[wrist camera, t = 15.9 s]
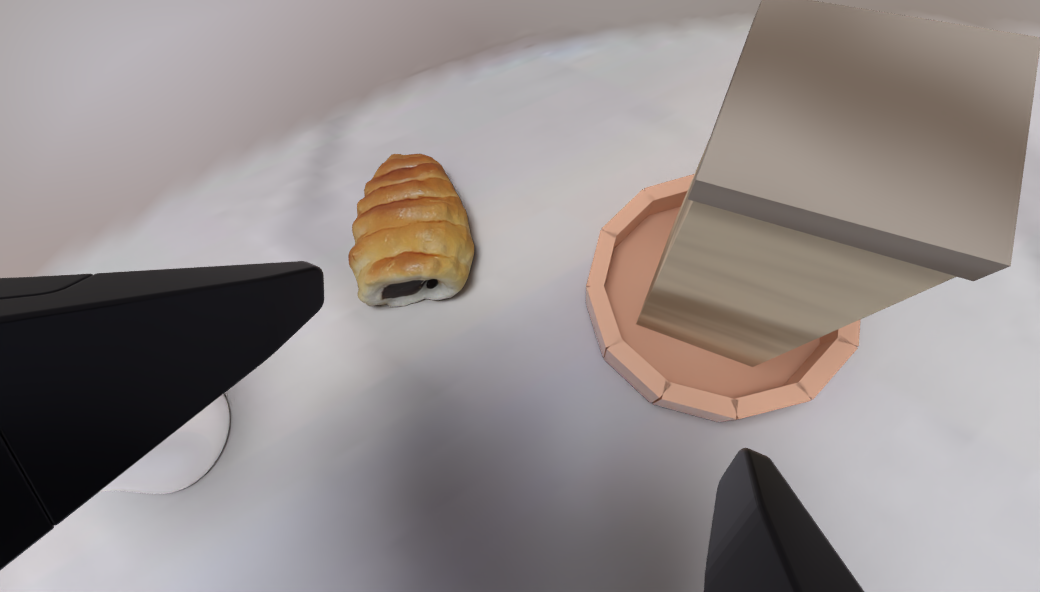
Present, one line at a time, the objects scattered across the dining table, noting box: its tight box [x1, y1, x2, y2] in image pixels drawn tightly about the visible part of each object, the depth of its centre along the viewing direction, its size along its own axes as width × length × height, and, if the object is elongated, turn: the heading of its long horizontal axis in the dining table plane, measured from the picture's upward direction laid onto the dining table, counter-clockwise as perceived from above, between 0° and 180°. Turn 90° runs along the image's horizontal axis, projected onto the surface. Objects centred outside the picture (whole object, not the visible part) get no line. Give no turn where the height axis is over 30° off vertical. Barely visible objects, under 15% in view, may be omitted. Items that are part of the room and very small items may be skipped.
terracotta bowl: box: [586, 174, 860, 422], centre depth 21 cm, size 12×12×2 cm
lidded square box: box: [636, 0, 1040, 367], centre depth 15 cm, size 6×6×12 cm
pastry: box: [349, 154, 474, 307], centre depth 24 cm, size 9×7×4 cm
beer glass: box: [99, 394, 230, 494], centre depth 16 cm, size 7×7×15 cm
